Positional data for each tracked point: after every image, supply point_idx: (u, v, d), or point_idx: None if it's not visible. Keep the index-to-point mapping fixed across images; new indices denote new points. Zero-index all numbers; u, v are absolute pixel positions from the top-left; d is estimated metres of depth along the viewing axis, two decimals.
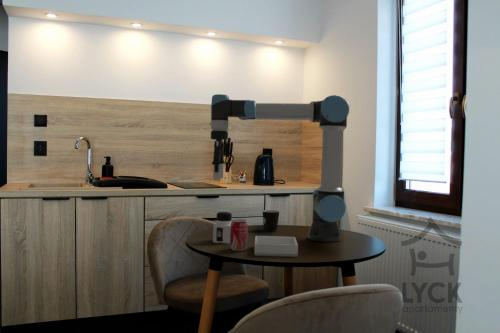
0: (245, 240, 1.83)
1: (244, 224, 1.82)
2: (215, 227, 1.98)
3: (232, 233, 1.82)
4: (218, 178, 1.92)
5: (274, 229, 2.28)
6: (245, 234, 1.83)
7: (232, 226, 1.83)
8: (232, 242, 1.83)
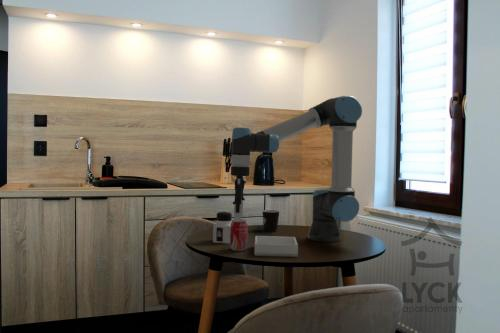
0: (245, 240, 1.83)
1: (244, 224, 1.82)
2: (215, 227, 1.98)
3: (232, 233, 1.82)
4: (239, 219, 1.77)
5: (274, 229, 2.28)
6: (245, 234, 1.83)
7: (232, 226, 1.83)
8: (232, 242, 1.83)
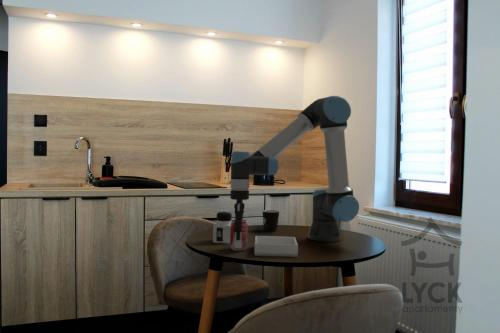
0: (245, 240, 1.83)
1: (244, 224, 1.82)
2: (215, 227, 1.98)
3: (232, 233, 1.82)
4: (240, 246, 1.81)
5: (274, 229, 2.28)
6: (245, 234, 1.83)
7: (232, 226, 1.83)
8: (232, 241, 1.83)
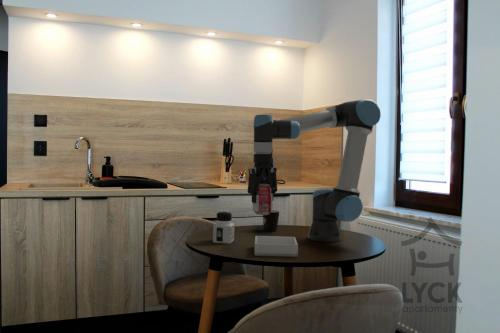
0: (263, 204, 1.80)
1: (262, 188, 1.80)
2: (215, 227, 1.98)
3: None
4: (256, 209, 1.81)
5: (274, 229, 2.28)
6: (263, 198, 1.80)
7: None
8: None
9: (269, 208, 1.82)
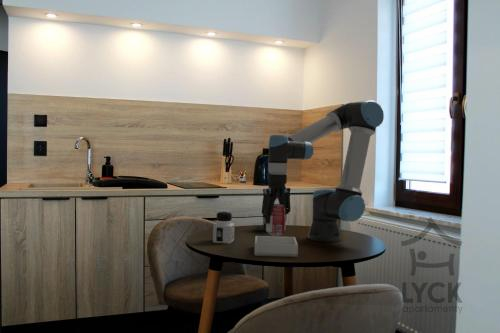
0: (277, 225, 1.80)
1: (276, 209, 1.80)
2: (215, 227, 1.98)
3: None
4: (269, 230, 1.80)
5: None
6: (277, 219, 1.80)
7: None
8: None
9: (283, 229, 1.81)
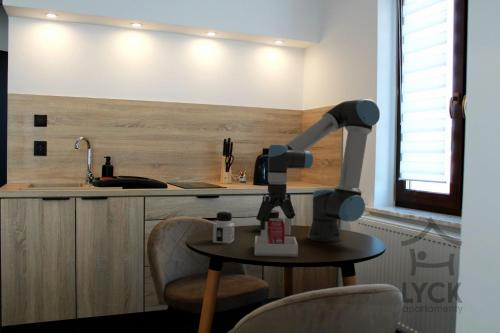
0: (277, 240, 1.80)
1: (276, 223, 1.80)
2: (215, 227, 1.98)
3: (267, 231, 1.83)
4: (264, 236, 1.78)
5: None
6: (277, 233, 1.80)
7: None
8: (267, 239, 1.84)
9: (283, 243, 1.81)
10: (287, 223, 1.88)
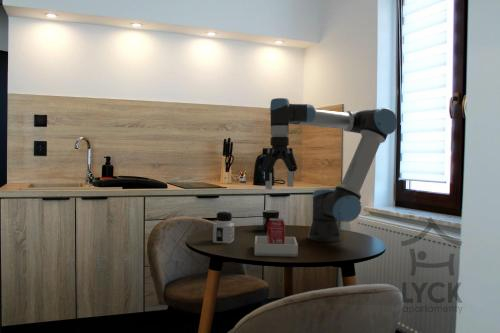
0: (277, 239, 1.80)
1: (276, 223, 1.80)
2: (215, 227, 1.98)
3: (267, 231, 1.83)
4: (269, 187, 1.83)
5: None
6: (277, 233, 1.80)
7: None
8: (267, 239, 1.84)
9: (283, 243, 1.81)
10: (290, 176, 1.93)
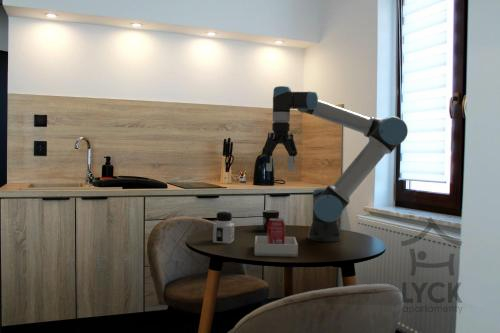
0: (277, 240, 1.80)
1: (276, 223, 1.80)
2: (215, 227, 1.98)
3: (267, 231, 1.83)
4: (269, 169, 1.95)
5: None
6: (277, 233, 1.80)
7: None
8: (267, 239, 1.84)
9: (283, 243, 1.81)
10: (290, 160, 2.05)
